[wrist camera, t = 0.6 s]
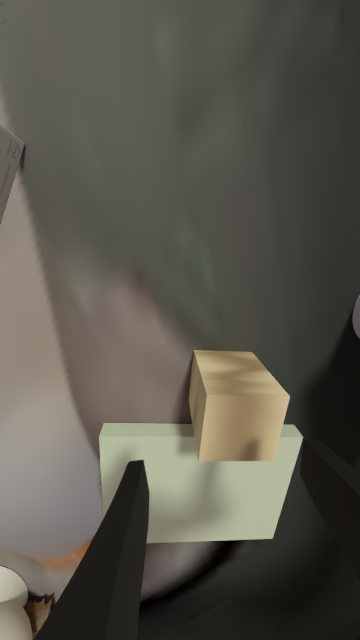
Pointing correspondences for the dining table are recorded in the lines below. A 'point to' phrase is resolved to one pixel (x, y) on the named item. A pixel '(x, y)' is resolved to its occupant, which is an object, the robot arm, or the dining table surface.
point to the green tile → (198, 483)
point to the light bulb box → (8, 164)
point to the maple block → (235, 407)
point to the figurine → (13, 607)
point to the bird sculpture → (37, 614)
